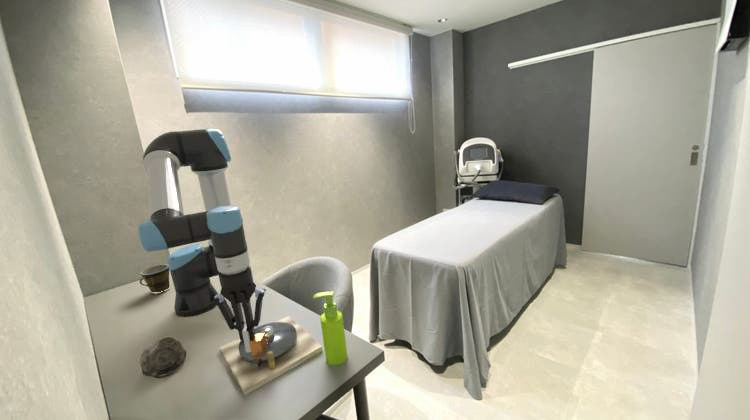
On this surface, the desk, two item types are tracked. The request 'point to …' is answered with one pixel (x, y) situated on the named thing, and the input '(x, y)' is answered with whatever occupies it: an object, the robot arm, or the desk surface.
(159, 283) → the ceramic cup
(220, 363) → the desk surface
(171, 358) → the fossil
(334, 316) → the soap dispenser
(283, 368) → the post base
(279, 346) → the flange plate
